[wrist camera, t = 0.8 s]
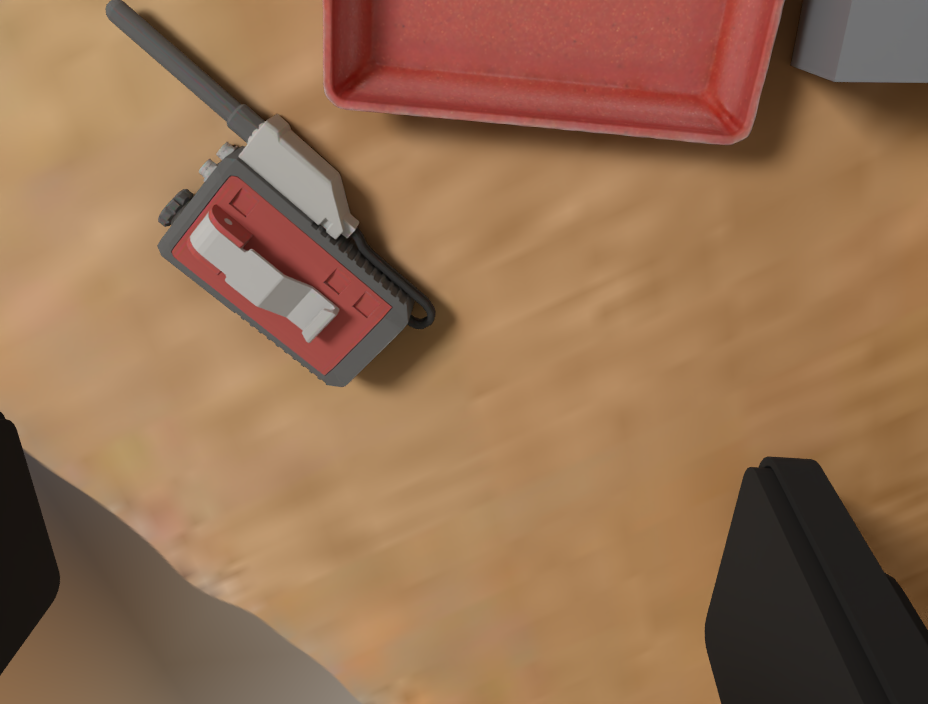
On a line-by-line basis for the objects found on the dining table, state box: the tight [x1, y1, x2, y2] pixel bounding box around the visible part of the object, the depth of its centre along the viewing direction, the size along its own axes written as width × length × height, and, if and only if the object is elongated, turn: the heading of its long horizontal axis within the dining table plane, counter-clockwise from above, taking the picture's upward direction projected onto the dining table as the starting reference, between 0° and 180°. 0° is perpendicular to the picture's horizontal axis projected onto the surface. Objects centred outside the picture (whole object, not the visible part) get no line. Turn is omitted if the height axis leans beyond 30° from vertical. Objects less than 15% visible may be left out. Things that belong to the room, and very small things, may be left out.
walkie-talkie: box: [106, 0, 435, 387], centre depth 35 cm, size 9×4×20 cm
